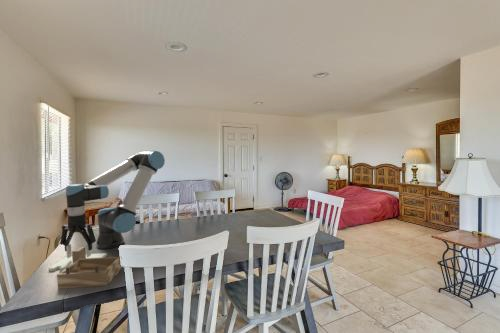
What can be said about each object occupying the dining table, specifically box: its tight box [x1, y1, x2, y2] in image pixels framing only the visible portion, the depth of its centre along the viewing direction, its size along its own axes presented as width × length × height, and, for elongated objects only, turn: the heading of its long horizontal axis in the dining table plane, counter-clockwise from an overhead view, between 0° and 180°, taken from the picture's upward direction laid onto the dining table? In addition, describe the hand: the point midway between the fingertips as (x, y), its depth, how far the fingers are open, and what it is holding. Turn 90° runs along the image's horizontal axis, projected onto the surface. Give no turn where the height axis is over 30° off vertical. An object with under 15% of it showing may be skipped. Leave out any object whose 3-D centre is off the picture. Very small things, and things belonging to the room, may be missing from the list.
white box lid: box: [48, 246, 108, 272], centre depth 133 cm, size 16×20×8 cm
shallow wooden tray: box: [56, 256, 123, 289], centre depth 117 cm, size 16×20×8 cm
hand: (79, 256), depth 133 cm, fingers open, 9 cm apart
